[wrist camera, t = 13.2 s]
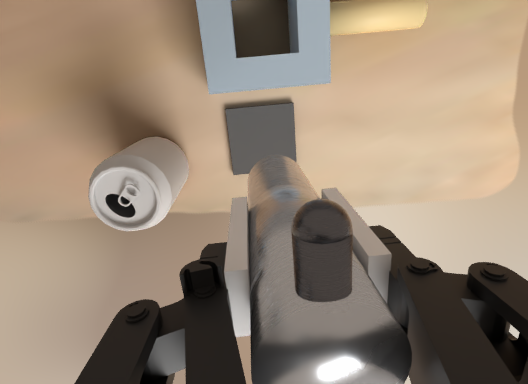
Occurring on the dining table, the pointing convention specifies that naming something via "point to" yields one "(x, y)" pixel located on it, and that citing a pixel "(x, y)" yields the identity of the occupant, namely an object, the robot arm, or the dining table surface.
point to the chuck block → (295, 40)
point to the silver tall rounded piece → (313, 290)
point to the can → (138, 184)
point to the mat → (260, 134)
